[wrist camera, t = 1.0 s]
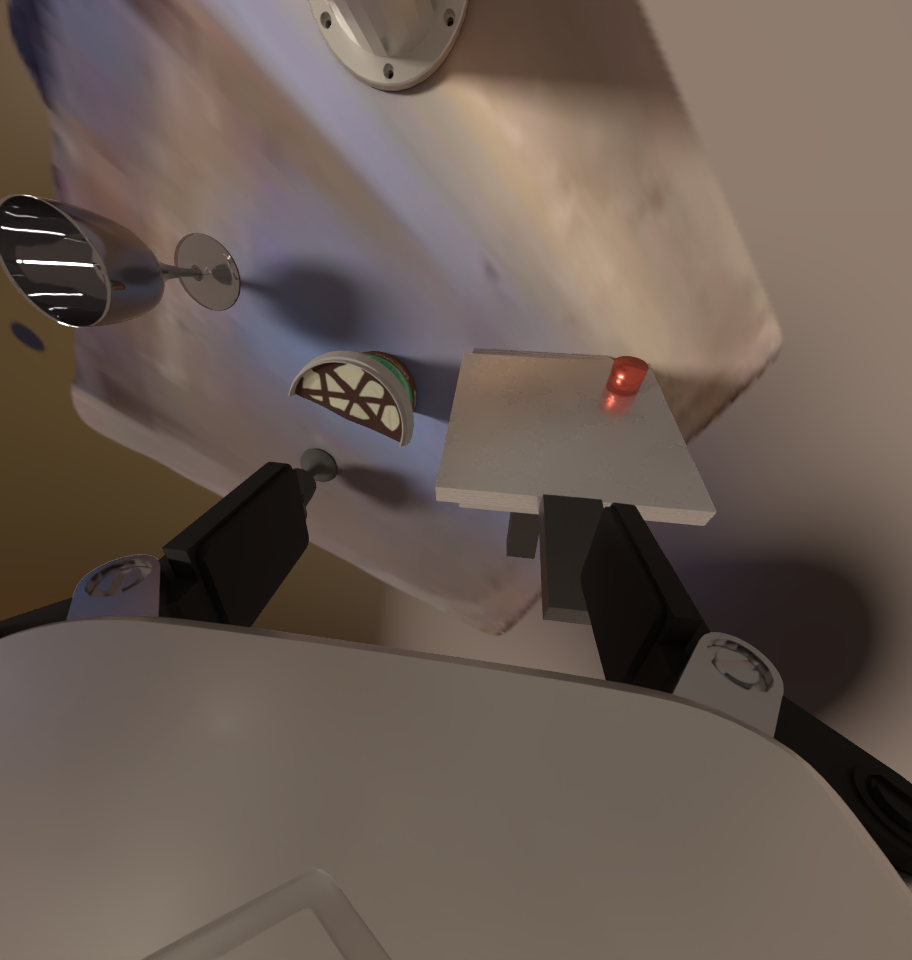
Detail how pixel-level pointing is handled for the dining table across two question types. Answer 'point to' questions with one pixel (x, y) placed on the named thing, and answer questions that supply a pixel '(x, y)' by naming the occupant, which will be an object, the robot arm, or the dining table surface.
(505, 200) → the dining table surface
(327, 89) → the dining table surface
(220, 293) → the wine glass
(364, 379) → the food container
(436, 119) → the dining table surface
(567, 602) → the lid
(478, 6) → the dining table surface
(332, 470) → the sundae
